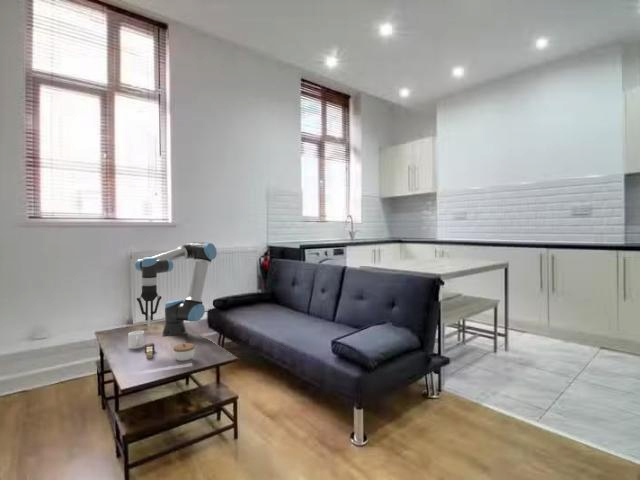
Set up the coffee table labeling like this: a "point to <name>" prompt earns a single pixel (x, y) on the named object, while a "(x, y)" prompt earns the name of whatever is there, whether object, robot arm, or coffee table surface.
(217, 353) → the coffee table surface
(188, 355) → the lidded jar
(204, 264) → the robot arm
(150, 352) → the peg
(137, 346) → the mug
